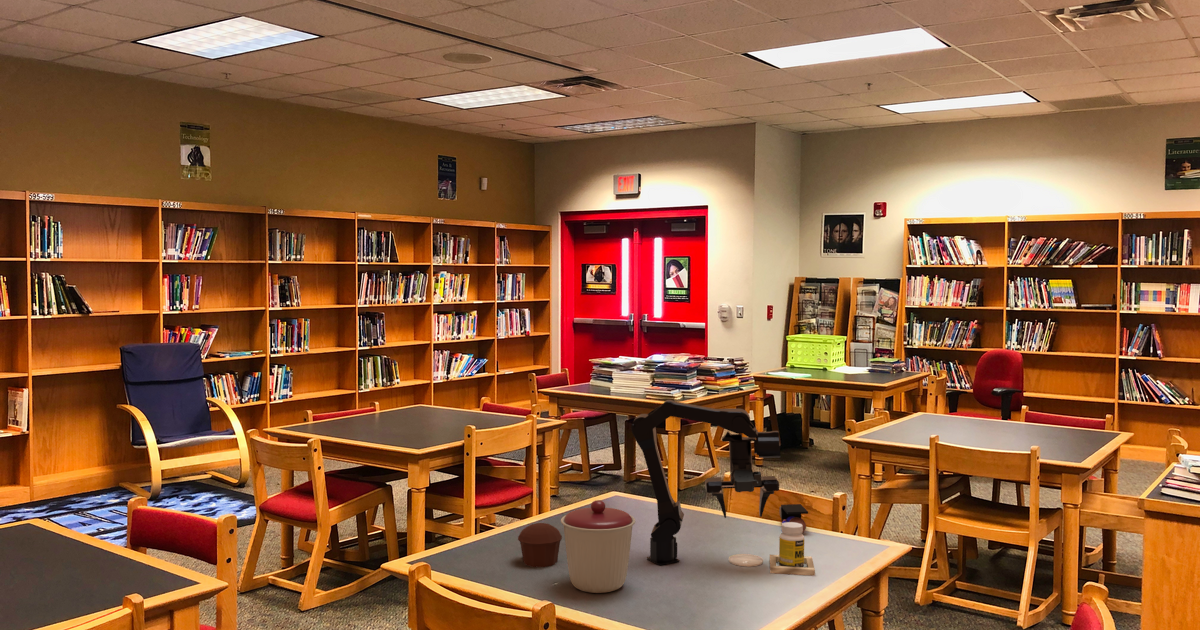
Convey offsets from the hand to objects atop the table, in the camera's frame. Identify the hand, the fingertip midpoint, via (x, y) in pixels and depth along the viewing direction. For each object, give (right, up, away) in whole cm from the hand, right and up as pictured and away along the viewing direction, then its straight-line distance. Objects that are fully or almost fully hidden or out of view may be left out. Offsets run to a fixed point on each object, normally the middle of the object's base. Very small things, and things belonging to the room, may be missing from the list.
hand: (742, 517), depth 237 cm
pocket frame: (+12, -13, -2) cm, 18 cm away
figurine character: (+21, -12, +35) cm, 43 cm away
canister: (-38, -13, -16) cm, 43 cm away
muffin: (-53, -13, +3) cm, 55 cm away
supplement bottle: (+12, -13, -2) cm, 18 cm away
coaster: (+1, -13, +4) cm, 13 cm away
